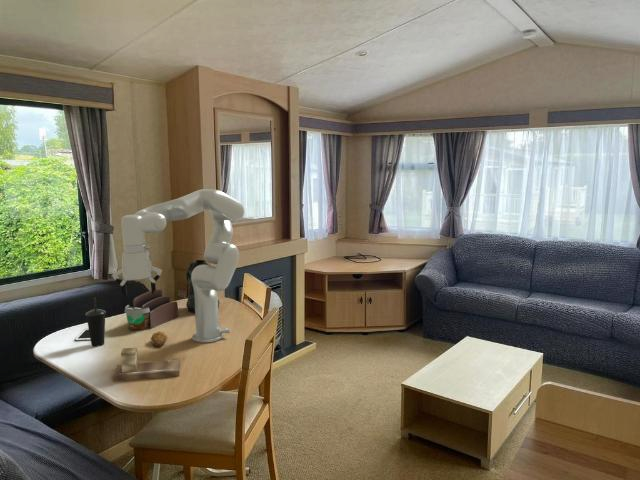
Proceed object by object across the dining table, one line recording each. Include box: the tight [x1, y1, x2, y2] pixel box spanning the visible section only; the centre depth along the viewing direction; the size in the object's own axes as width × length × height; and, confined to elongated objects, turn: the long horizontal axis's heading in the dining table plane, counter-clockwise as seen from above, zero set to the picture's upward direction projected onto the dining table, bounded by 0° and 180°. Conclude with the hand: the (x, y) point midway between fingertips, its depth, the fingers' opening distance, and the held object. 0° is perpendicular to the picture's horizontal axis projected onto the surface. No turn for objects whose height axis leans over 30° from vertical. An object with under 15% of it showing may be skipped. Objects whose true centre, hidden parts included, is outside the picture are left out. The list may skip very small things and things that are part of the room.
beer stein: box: [185, 259, 221, 315], centre depth 253 cm, size 16×19×25 cm
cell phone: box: [74, 327, 91, 342], centre depth 217 cm, size 8×15×1 cm, turn 8°
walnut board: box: [112, 359, 181, 383], centre depth 178 cm, size 22×10×2 cm, turn 103°
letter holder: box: [132, 288, 179, 330], centre depth 235 cm, size 10×20×14 cm, turn 159°
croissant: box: [150, 331, 169, 348], centre depth 208 cm, size 14×7×5 cm, turn 15°
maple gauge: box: [120, 347, 139, 372], centre depth 176 cm, size 5×5×7 cm
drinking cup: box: [85, 296, 107, 348], centre depth 204 cm, size 8×8×20 cm
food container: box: [124, 304, 150, 332], centre depth 224 cm, size 12×6×10 cm, turn 69°
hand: (139, 293), depth 185 cm, fingers open, 9 cm apart
